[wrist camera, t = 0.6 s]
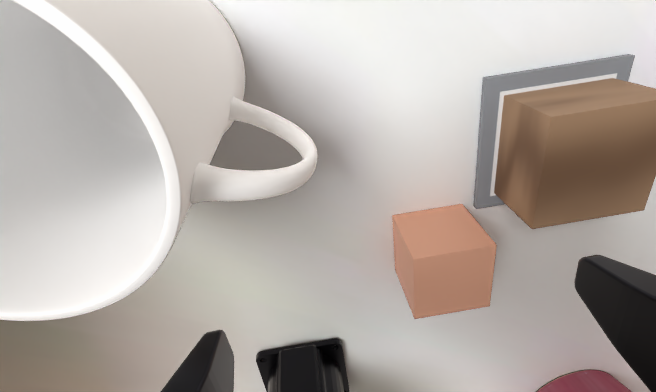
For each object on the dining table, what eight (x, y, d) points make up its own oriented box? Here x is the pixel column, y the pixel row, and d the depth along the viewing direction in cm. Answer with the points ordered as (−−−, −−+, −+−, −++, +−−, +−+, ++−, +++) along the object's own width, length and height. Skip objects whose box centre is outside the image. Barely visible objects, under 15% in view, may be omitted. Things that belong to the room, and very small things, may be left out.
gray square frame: (595, 185, 24) (600, 188, 23) (473, 205, 23) (476, 209, 23) (628, 54, 20) (636, 55, 19) (482, 77, 20) (487, 79, 19)
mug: (331, 40, 18) (395, 103, 7) (278, 188, 22) (271, 371, 11) (63, -69, 15) (-459, -219, 4) (53, 123, 19) (-251, 291, 8)
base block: (588, 177, 23) (643, 210, 19) (493, 192, 23) (532, 229, 19) (612, 77, 20) (682, 95, 16) (504, 95, 20) (550, 116, 16)
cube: (458, 258, 26) (489, 306, 22) (394, 269, 25) (414, 319, 22) (461, 203, 23) (496, 245, 19) (391, 214, 23) (413, 259, 19)
